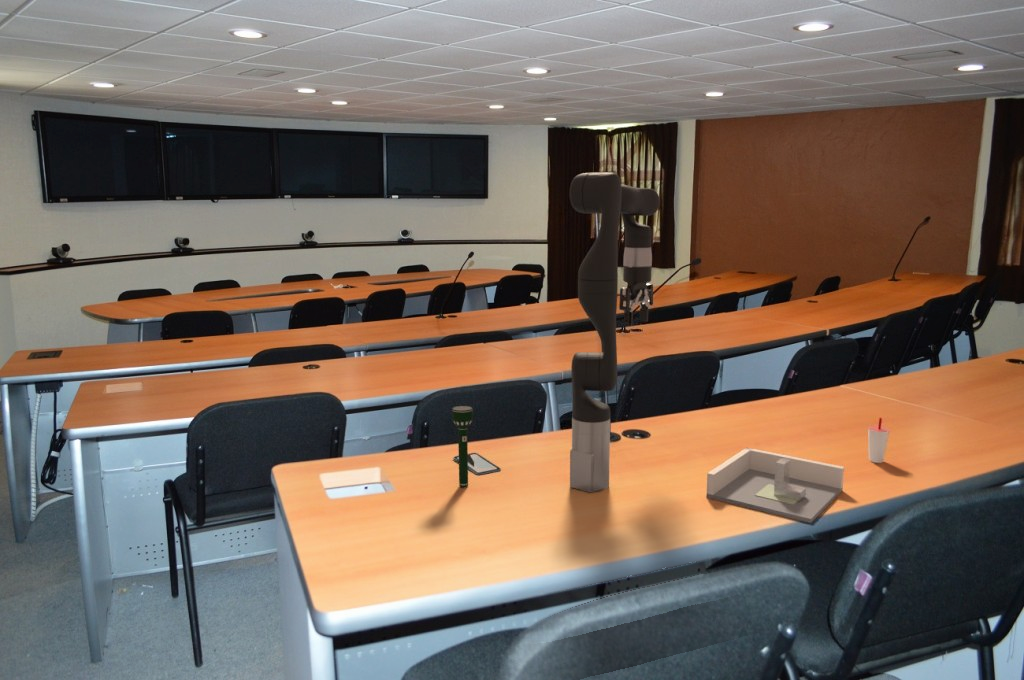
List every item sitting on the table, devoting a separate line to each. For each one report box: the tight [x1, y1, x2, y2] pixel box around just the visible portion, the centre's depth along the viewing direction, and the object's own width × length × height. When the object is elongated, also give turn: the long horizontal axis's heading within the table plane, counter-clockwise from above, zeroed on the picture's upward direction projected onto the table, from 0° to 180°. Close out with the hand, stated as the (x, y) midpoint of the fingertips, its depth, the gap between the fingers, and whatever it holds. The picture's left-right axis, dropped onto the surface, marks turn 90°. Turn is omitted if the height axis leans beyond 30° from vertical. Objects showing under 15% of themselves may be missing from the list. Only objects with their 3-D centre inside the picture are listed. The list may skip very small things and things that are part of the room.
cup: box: [867, 417, 891, 464], centre depth 201 cm, size 5×5×12 cm
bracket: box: [774, 458, 806, 501], centre depth 174 cm, size 6×4×8 cm, turn 51°
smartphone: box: [453, 452, 502, 476], centre depth 201 cm, size 7×1×15 cm
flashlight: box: [451, 404, 474, 489], centre depth 183 cm, size 5×5×20 cm
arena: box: [706, 447, 845, 524], centre depth 179 cm, size 24×24×6 cm
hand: (636, 323), depth 205 cm, fingers open, 8 cm apart
